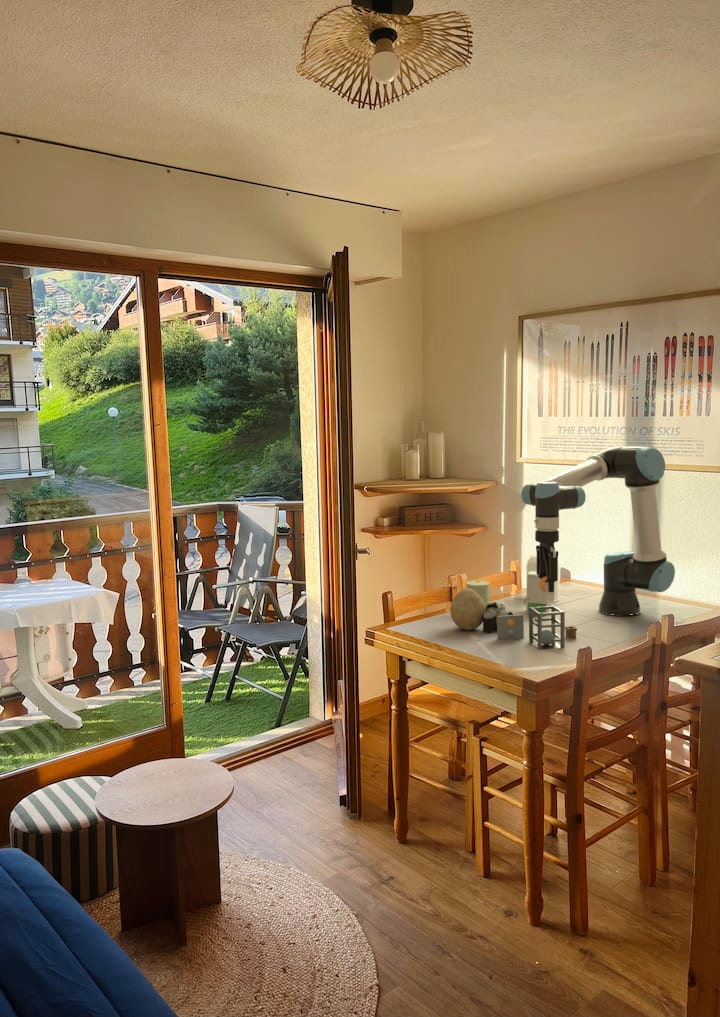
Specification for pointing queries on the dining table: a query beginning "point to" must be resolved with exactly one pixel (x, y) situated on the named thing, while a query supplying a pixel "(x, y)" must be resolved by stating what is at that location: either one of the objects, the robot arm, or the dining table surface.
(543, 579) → the orange ball
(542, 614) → the open frame box
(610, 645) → the dining table surface
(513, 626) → the sign
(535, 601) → the skincare box
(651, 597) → the dining table surface
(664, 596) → the dining table surface
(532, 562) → the container
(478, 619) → the fossilized egg
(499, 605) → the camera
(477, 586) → the can
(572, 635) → the pedestal
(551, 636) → the gray ball
